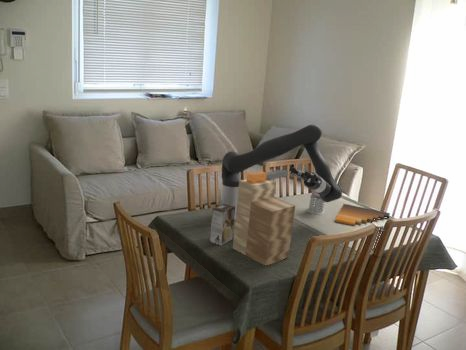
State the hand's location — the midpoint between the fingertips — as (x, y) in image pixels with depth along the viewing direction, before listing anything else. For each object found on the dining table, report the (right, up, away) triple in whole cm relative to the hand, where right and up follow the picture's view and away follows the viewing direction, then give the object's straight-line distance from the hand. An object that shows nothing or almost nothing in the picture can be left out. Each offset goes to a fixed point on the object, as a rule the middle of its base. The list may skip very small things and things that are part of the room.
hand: (297, 170), depth 234 cm
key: (-15, -4, -13) cm, 20 cm away
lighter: (+37, -35, +6) cm, 51 cm away
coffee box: (-35, -32, -3) cm, 47 cm away
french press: (+15, -22, +44) cm, 52 cm away
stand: (-18, -36, -12) cm, 41 cm away
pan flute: (+39, -26, +40) cm, 62 cm away
